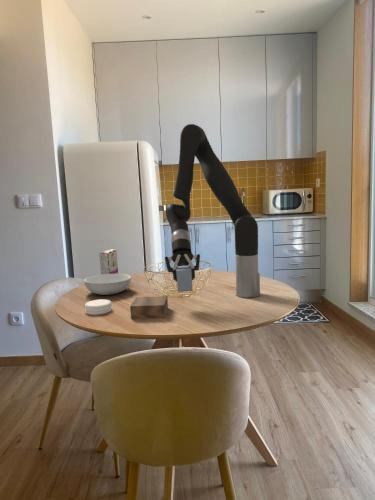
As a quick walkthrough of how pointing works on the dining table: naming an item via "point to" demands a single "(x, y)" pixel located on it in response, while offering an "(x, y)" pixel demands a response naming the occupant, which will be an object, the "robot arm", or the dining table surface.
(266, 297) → the dining table surface
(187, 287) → the slate-blue block
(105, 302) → the white round disc
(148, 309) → the walnut block
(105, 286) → the serving bowl
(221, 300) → the dining table surface
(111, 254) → the candy bar box
